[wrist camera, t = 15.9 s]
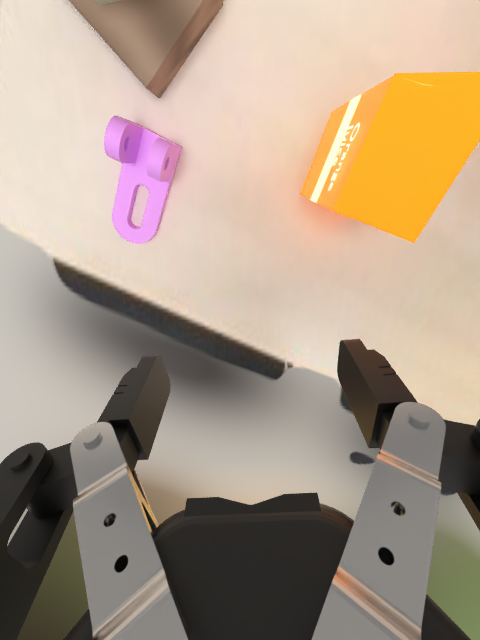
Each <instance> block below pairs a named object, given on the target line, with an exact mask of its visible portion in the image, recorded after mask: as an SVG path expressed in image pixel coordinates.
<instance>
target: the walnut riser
mask: <svg viewBox="0 0 480 640" xmlns="http://www.w3.org/2000/svg"><path fill="white" fill-rule="evenodd" d="M69 1H70V2H71V3H72V4H73V5H74V7H75V8H76V9H77V10H78V11H79V12H80V13H81V14H82V16H83V17H84V18H85V19H86V20H87V21H88V22H89V24H90V25H91V26H92V27H93V28H94V29H95V30H96V31H97V33H98V34H99V35H100V36H101V37H102V38H103V39H104V40H105V42H106V43H107V44H108V45H109V46H110V47H111V48H112V50H113V51H114V52H115V53H116V54H117V55H118V56H119V57H120V59H121V60H122V61H123V62H124V63H125V64H126V65H127V67H128V68H129V69H130V70H131V71H132V72H133V73H134V74H135V76H136V77H137V78H138V79H139V80H140V81H141V82H142V83H143V85H144V86H145V87H146V88H147V89H148V90H150V91H151V92H152V93H153V94H155V95H156V96H157V97H158V98H160V97H161V96H162V94H163V93H164V91H165V90H166V88H167V87H168V85H169V84H170V82H171V81H172V79H173V78H174V76H175V75H176V73H177V72H178V70H179V69H180V68H181V66H182V65H183V63H184V62H185V60H186V59H187V57H188V56H189V54H190V53H191V51H192V50H193V48H194V47H195V45H196V44H197V42H198V41H199V39H200V38H201V37H202V35H203V34H204V32H205V31H206V29H207V28H208V26H209V25H210V23H211V22H212V20H213V19H214V17H215V16H216V14H217V13H218V11H219V10H220V8H221V7H222V5H223V0H121V1H116V2H112V3H107V4H103V5H99V4H98V3H97V2H96V1H95V0H69Z"/></svg>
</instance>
